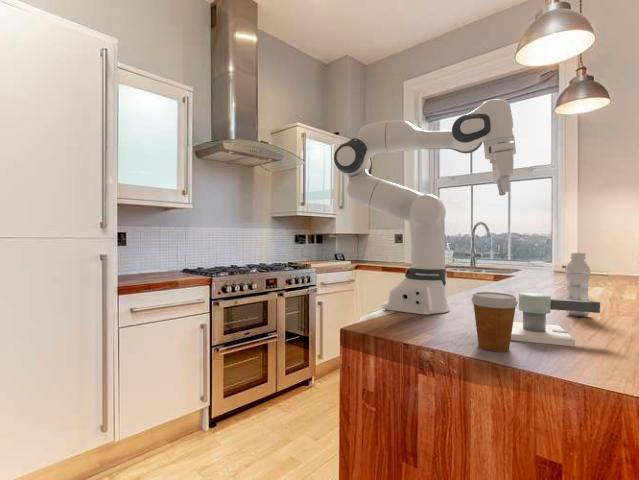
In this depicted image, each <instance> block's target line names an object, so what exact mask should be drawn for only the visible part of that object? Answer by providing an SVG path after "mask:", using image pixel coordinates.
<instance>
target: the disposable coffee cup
mask: <svg viewBox="0 0 639 480" xmlns="http://www.w3.org/2000/svg"><path fill="white" fill-rule="evenodd" d="M470 300H471V302H472V304H473V310H474V311H473V312H474V319H475V328H476V336H477V342H478V343H477V344H478V348H481V349H483V350H487V351H488V352H489V351H490V352H497V353H498V352H499V353H503V352H508V351H509V350H510V345H511V341H512V340H511V334H512V327H513V322H514V319H515V313H516V308H517V306H518V305H519V301H517V297H516V296H515V295H513V294H509V293H503V292H496V291H495V292H494V291H492V292H491V291H478V292H474V293H473V295H472V297H471V299H470Z"/></svg>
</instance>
